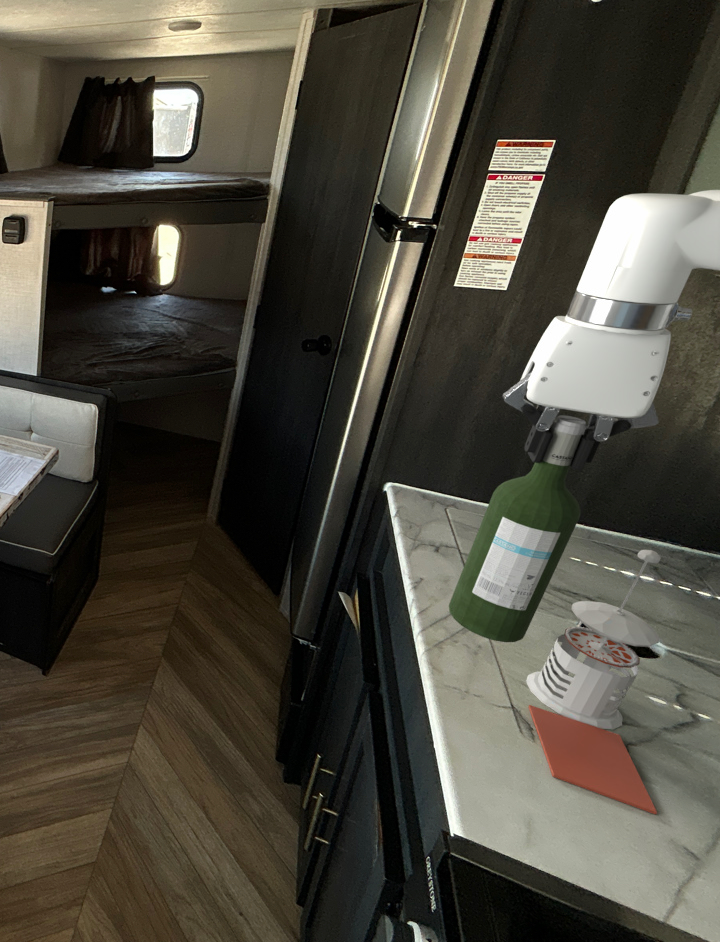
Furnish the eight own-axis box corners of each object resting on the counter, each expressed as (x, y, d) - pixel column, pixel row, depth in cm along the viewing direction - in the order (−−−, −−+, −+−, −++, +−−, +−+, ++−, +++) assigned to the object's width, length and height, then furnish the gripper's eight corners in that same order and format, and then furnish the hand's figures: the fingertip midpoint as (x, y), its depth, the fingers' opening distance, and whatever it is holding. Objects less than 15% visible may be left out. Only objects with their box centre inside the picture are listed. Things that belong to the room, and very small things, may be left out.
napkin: (618, 736, 82) (619, 734, 82) (656, 814, 73) (657, 812, 73) (528, 706, 87) (529, 704, 87) (552, 776, 77) (553, 774, 77)
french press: (529, 704, 87) (604, 555, 78) (521, 653, 96) (587, 514, 86) (631, 743, 81) (724, 587, 72) (612, 685, 90) (693, 540, 81)
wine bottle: (511, 612, 86) (600, 413, 75) (533, 651, 79) (635, 439, 68) (440, 595, 89) (515, 401, 78) (456, 632, 83) (540, 426, 71)
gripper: (711, 315, 67) (637, 466, 74) (511, 296, 75) (462, 434, 82) (746, 332, 61) (663, 495, 68) (526, 310, 69) (471, 457, 76)
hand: (553, 460), depth 75 cm, fingers closed on wine bottle, 2 cm apart
